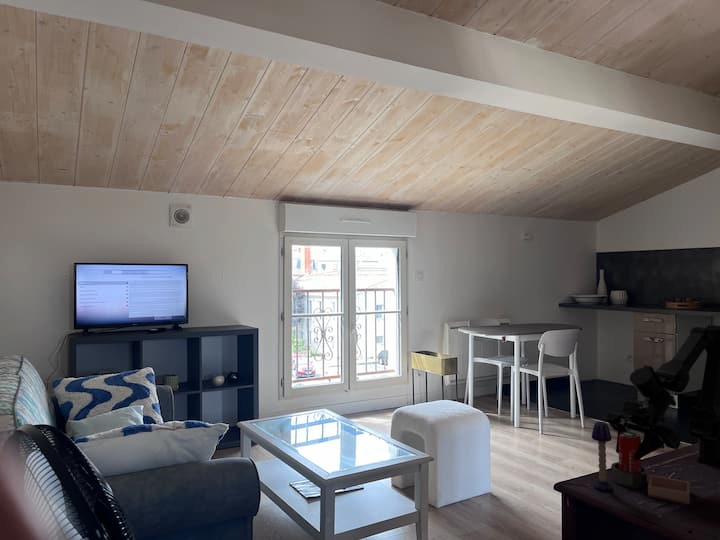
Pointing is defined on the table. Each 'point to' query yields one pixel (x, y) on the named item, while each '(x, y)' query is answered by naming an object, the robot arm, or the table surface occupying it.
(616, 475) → the steel collar
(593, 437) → the toy lamp
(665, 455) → the table surface
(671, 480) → the terracotta tray
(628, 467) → the beverage can
